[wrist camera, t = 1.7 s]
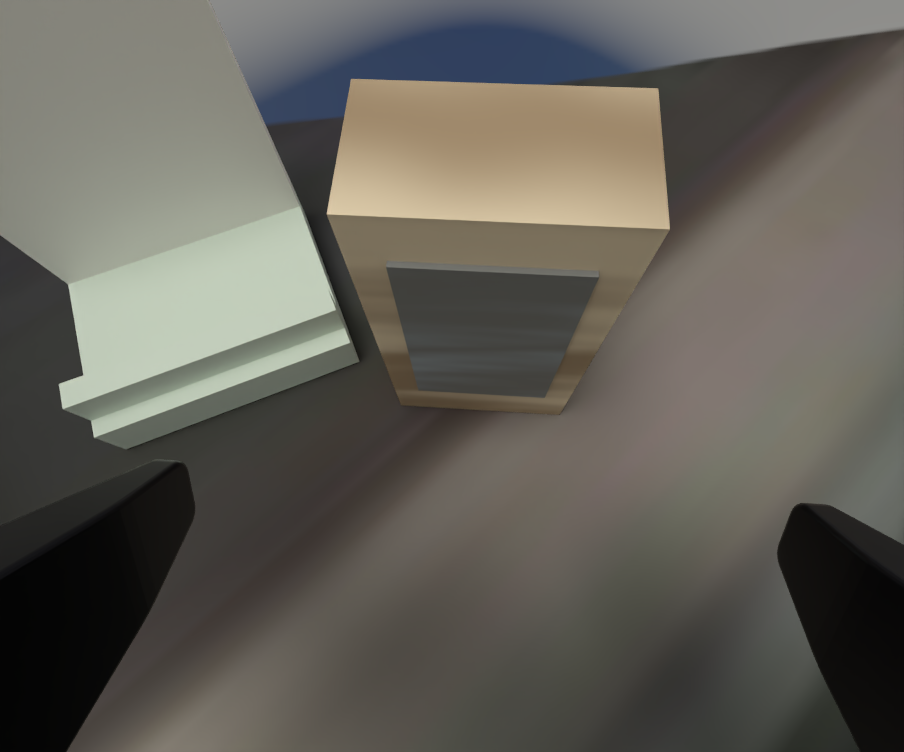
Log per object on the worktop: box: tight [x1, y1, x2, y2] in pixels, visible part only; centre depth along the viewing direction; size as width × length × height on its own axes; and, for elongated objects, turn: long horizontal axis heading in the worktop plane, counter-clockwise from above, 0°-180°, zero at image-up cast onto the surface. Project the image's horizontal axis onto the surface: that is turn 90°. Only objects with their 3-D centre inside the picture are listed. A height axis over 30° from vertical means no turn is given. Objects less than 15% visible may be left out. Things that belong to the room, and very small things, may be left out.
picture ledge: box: [0, 0, 360, 449], centre depth 17 cm, size 8×10×14 cm
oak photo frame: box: [327, 79, 670, 415], centre depth 17 cm, size 4×6×12 cm, turn 86°
